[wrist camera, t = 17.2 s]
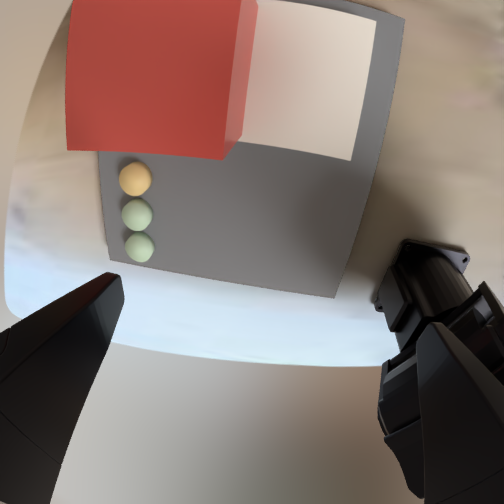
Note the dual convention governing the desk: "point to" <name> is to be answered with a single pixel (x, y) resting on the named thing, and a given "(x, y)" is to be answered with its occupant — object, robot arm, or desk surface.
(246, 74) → the red block
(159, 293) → the desk surface
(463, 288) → the robot arm
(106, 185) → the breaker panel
